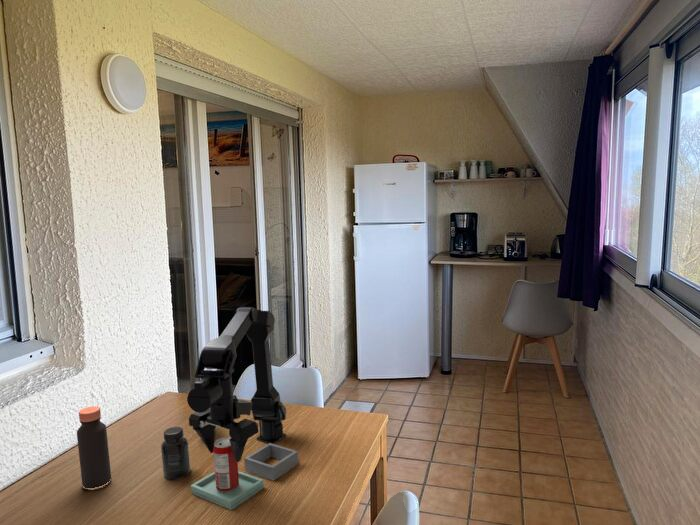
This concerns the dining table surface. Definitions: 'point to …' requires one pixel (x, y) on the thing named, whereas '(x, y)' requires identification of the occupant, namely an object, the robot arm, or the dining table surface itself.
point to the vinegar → (93, 448)
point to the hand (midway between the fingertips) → (225, 456)
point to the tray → (227, 499)
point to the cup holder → (268, 471)
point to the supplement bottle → (175, 454)
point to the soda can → (225, 466)
